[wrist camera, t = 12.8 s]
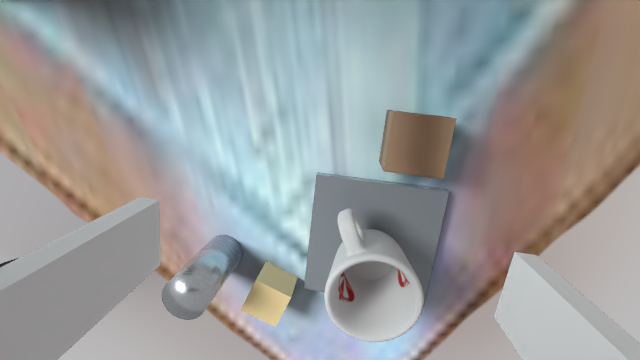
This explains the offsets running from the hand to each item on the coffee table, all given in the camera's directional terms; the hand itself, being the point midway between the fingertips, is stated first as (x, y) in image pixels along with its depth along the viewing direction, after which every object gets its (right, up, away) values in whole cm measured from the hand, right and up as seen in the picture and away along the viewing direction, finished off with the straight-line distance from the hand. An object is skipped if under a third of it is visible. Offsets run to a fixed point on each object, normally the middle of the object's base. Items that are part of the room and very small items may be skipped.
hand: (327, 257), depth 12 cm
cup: (+4, -4, +21) cm, 22 cm away
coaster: (+5, -3, +22) cm, 23 cm away
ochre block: (-5, -9, +25) cm, 27 cm away
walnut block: (+8, +7, +19) cm, 22 cm away
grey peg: (-11, -5, +24) cm, 27 cm away
